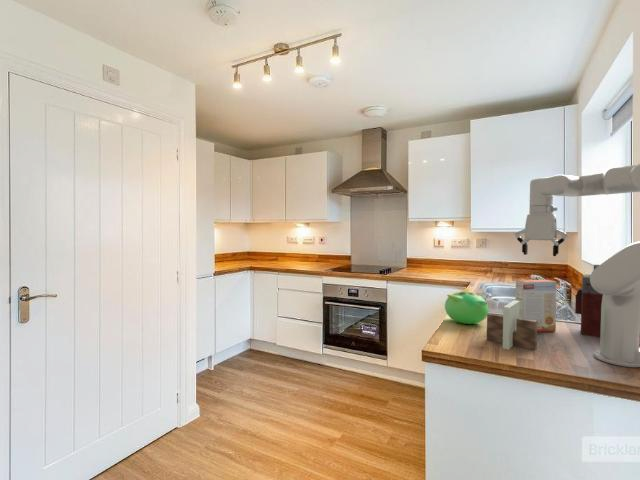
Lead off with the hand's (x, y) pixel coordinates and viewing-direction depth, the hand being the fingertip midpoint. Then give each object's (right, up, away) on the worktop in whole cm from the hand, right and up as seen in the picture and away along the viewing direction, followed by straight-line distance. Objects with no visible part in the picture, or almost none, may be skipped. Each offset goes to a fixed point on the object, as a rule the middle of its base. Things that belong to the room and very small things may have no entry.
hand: (539, 255), depth 133 cm
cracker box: (+5, -32, +12) cm, 34 cm away
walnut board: (-14, -33, -5) cm, 36 cm away
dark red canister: (+25, -32, +7) cm, 42 cm away
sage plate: (-14, -33, -5) cm, 36 cm away
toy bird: (-19, -32, +22) cm, 43 cm away
